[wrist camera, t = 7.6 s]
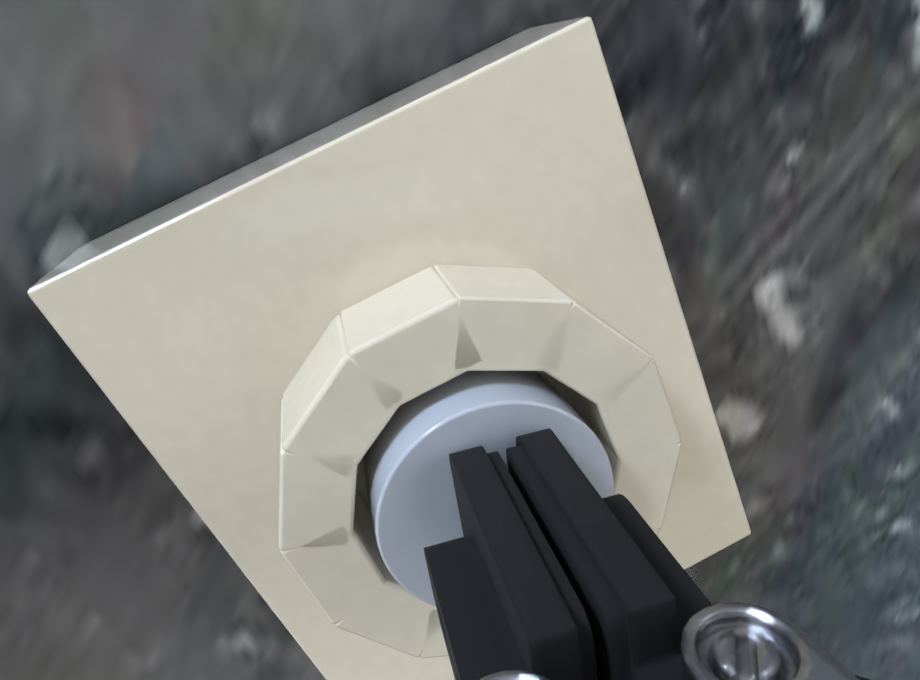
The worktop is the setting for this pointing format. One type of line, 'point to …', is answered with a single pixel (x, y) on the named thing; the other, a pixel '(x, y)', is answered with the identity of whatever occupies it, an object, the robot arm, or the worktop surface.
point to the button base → (400, 328)
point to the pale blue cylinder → (451, 430)
